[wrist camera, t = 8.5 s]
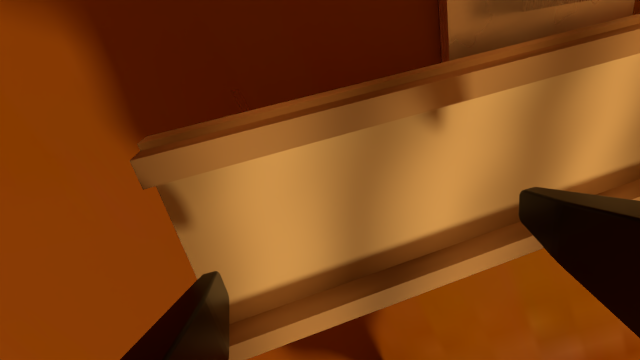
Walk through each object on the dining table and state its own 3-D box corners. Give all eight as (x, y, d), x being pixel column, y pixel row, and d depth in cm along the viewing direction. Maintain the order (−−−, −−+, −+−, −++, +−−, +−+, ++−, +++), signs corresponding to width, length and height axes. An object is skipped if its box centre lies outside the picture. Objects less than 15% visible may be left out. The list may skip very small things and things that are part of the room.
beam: (799, -27, 14) (883, -40, 12) (742, 144, 17) (803, 153, 15) (146, 136, 10) (126, 153, 8) (228, 327, 13) (227, 371, 11)
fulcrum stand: (631, -84, 15) (785, -143, 11) (589, 204, 22) (676, 244, 17) (436, -43, 15) (511, -87, 10) (450, 241, 21) (502, 294, 16)
